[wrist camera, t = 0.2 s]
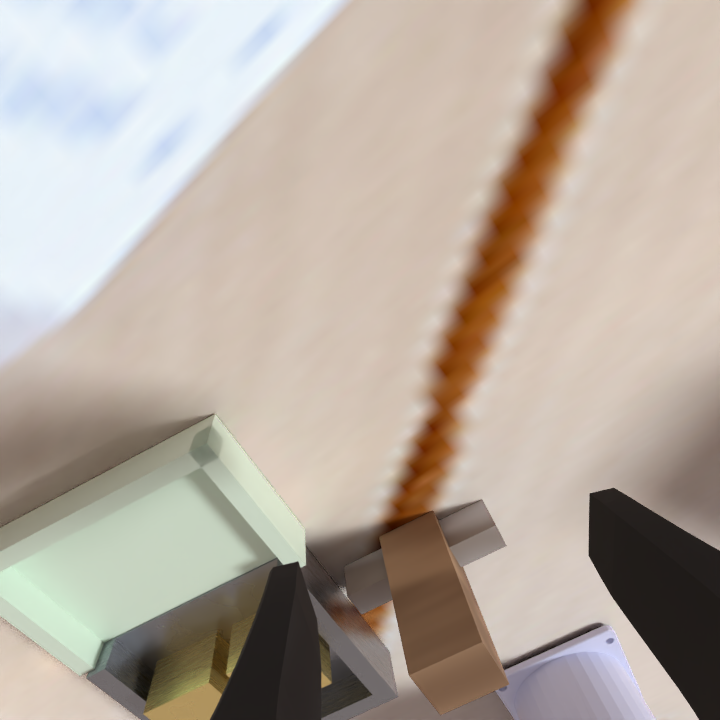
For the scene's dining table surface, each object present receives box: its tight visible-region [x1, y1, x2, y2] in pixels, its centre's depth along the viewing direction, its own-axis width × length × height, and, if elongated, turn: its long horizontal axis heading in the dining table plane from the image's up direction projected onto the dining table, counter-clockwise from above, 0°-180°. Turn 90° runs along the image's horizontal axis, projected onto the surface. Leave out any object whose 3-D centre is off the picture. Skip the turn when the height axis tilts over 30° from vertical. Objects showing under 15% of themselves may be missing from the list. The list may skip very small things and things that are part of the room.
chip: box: [143, 632, 230, 720], centre depth 24 cm, size 4×4×2 cm
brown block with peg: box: [344, 500, 509, 715], centre depth 22 cm, size 3×8×7 cm, turn 118°
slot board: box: [87, 546, 398, 720], centre depth 25 cm, size 10×11×2 cm
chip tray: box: [0, 414, 306, 676], centre depth 22 cm, size 8×12×2 cm, turn 118°
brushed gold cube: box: [226, 613, 332, 688], centre depth 24 cm, size 4×4×2 cm
